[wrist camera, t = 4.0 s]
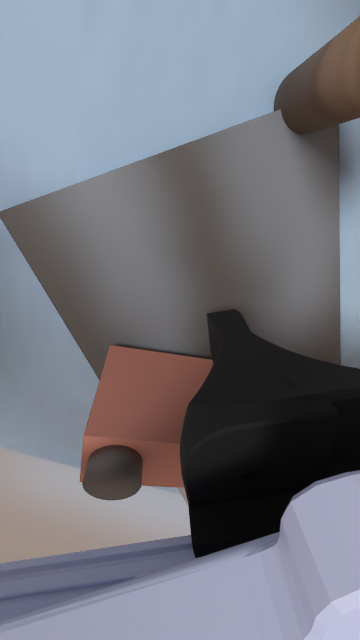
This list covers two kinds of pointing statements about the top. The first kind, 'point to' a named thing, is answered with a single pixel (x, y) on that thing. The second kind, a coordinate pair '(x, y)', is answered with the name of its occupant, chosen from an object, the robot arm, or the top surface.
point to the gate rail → (138, 421)
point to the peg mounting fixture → (208, 229)
